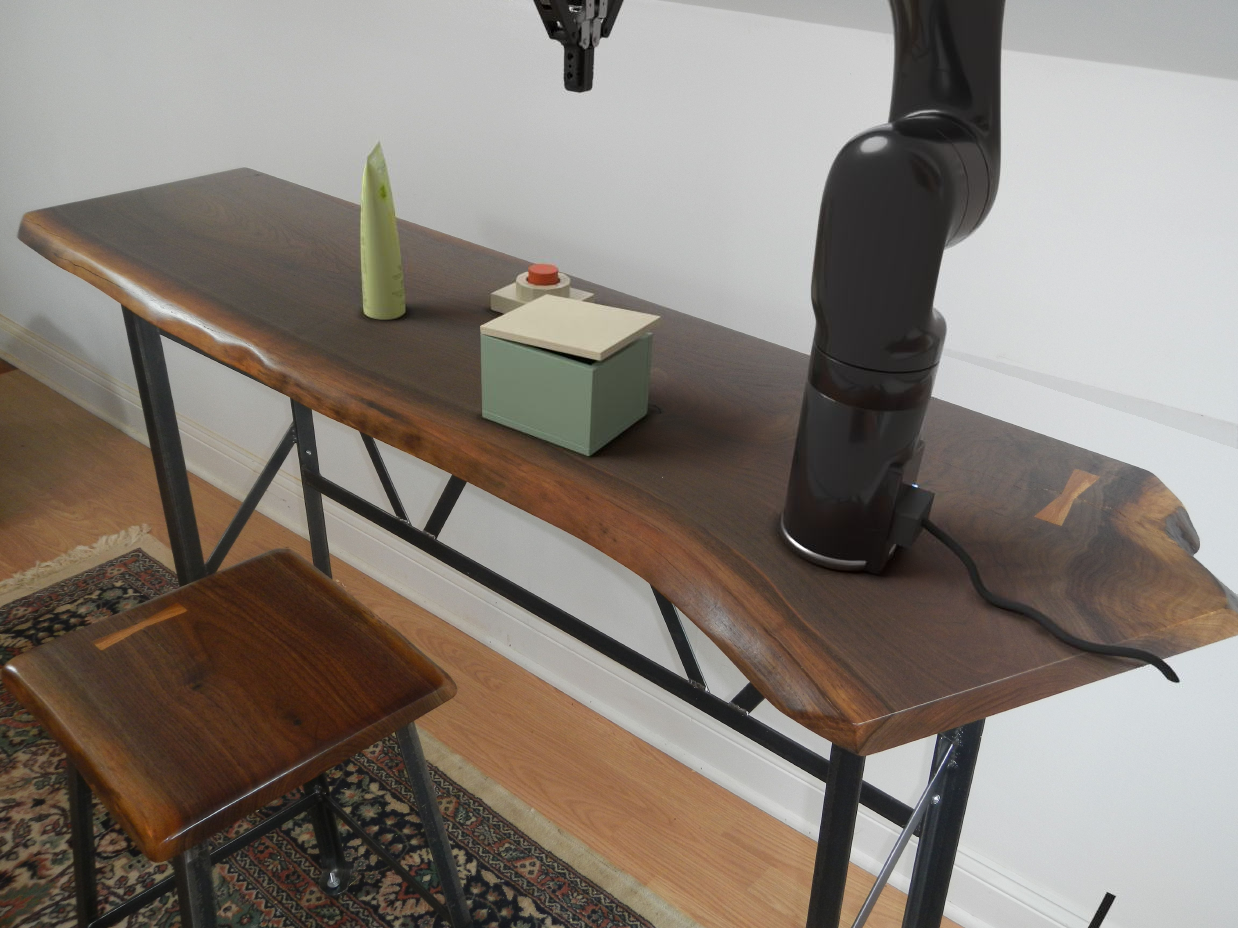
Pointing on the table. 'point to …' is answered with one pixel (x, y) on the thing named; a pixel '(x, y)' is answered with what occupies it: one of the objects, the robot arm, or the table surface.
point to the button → (543, 274)
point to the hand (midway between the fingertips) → (578, 90)
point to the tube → (380, 243)
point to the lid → (572, 326)
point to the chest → (565, 391)
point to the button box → (534, 293)
